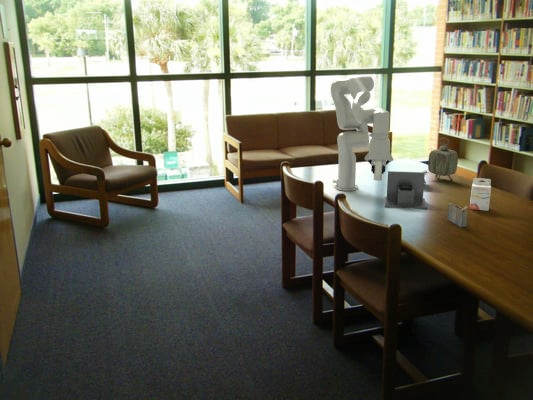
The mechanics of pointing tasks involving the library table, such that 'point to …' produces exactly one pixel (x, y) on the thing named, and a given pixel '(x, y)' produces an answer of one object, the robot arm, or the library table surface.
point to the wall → (425, 174)
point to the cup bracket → (405, 190)
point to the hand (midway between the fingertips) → (378, 172)
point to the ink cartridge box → (480, 194)
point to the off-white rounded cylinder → (378, 170)
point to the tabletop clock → (443, 161)
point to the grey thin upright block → (457, 215)
